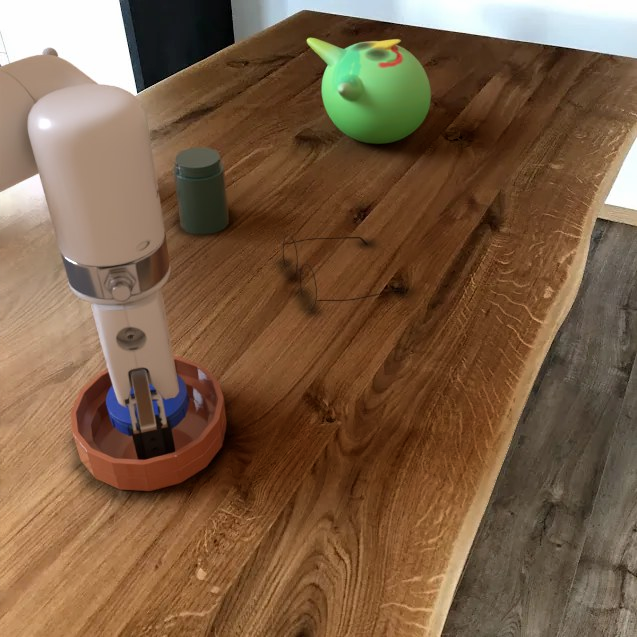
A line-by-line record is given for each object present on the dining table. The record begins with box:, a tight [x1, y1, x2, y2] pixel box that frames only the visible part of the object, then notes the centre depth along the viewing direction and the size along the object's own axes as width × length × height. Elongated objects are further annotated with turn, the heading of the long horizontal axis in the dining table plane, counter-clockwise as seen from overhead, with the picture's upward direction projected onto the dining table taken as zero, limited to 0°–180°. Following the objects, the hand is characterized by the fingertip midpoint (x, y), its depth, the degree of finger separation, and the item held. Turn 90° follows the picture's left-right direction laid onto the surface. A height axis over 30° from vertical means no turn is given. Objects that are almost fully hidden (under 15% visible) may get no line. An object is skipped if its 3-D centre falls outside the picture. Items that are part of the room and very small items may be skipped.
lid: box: [106, 375, 189, 436], centre depth 64 cm, size 7×7×2 cm
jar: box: [172, 146, 230, 235], centre depth 91 cm, size 6×6×9 cm
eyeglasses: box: [282, 233, 405, 310], centre depth 83 cm, size 11×13×5 cm
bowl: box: [69, 355, 228, 492], centre depth 65 cm, size 13×13×4 cm
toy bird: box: [306, 37, 432, 145], centre depth 109 cm, size 18×17×15 cm
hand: (151, 421), depth 65 cm, fingers closed on lid, 6 cm apart
